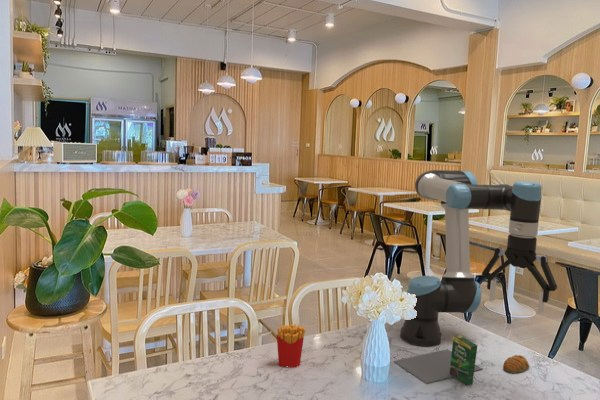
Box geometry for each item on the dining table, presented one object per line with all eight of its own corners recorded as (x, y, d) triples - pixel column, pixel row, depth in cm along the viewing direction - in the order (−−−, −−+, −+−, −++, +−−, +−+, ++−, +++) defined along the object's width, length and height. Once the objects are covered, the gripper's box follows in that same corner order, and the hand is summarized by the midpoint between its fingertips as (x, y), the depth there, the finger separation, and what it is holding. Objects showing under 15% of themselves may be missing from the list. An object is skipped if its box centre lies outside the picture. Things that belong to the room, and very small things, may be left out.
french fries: (275, 367, 152) (277, 328, 150) (276, 361, 156) (277, 323, 155) (304, 367, 152) (305, 329, 151) (303, 361, 157) (305, 324, 155)
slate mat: (393, 362, 158) (393, 360, 158) (447, 350, 169) (447, 349, 169) (426, 384, 144) (426, 383, 144) (482, 369, 155) (482, 368, 155)
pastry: (517, 377, 151) (518, 366, 151) (497, 369, 156) (498, 358, 156) (530, 369, 157) (531, 358, 157) (510, 361, 162) (511, 351, 162)
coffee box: (447, 372, 151) (452, 334, 149) (454, 371, 152) (459, 333, 150) (465, 386, 144) (471, 346, 141) (473, 385, 145) (478, 345, 142)
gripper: (474, 230, 141) (468, 298, 144) (568, 244, 125) (559, 321, 128) (483, 227, 146) (477, 293, 149) (574, 240, 130) (565, 314, 133)
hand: (515, 306), depth 138 cm, fingers open, 13 cm apart
